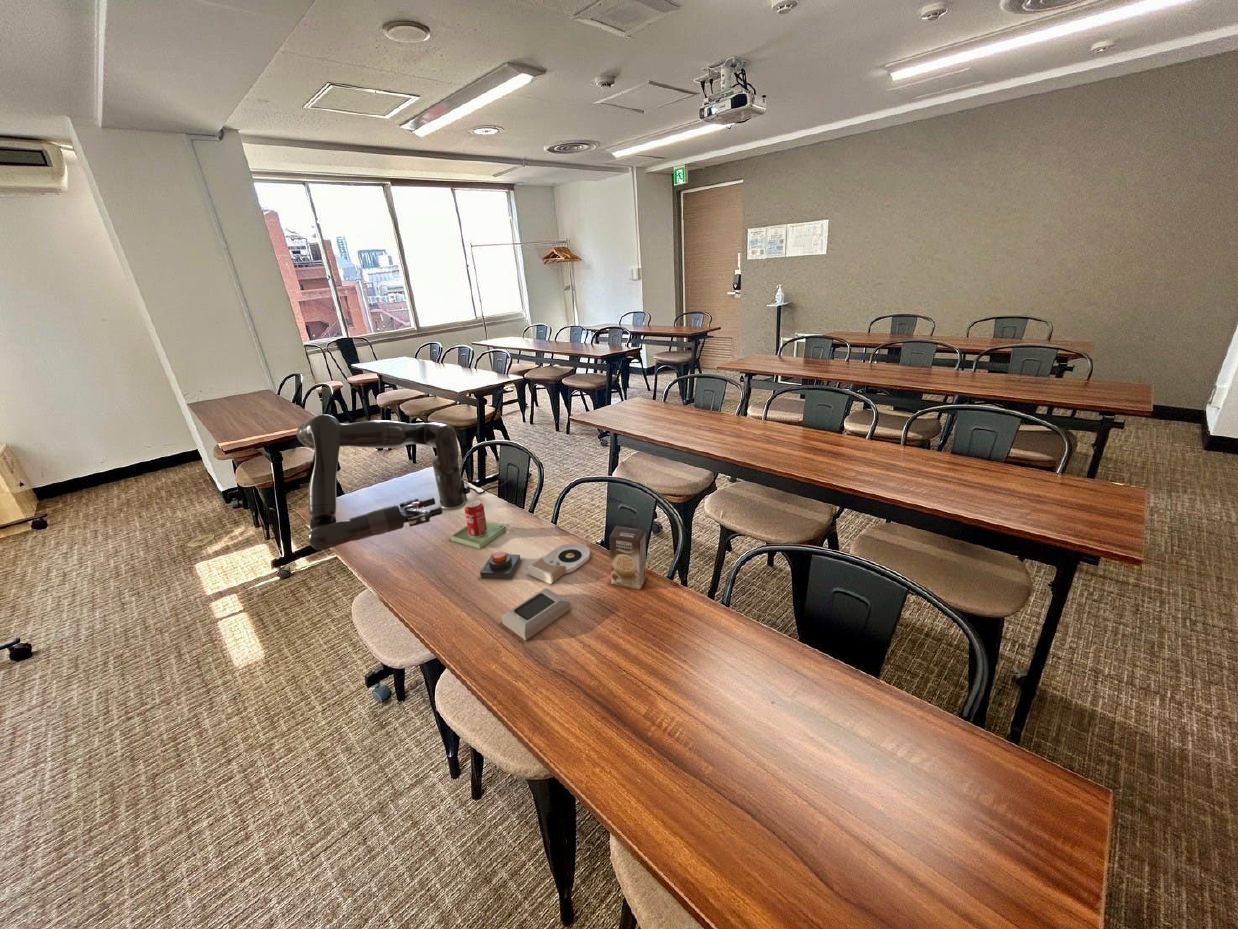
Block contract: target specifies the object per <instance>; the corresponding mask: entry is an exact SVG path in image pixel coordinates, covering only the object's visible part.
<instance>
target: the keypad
mask: <svg viewBox="0 0 1238 929" xmlns="http://www.w3.org/2000/svg"><path fill="white" fill-rule="evenodd" d="M569 611H571V602H570V601H569V600H567V599H566V598H564V597H563V596H560V595H559V594H558V593H556V592H554V591H552V590H551V589H549V588H547V587H545V588H543V589H542V590H540V591H538V592H537V593H535V594H534V595H532V596H530V597H529V598H527V599H526V600H524V601H523V602H521V603H519V604H518V605H516V606H515V607H513V608H512V609H510V610H509V611H507V612H505V613H504V614H503V615H502V616H501V622H502V625H503V626H505V627H506V628H508V629H509V630H510V631H512V632H513V633H515V634H516V635H517V636H518V637H520V638H521V639H522V640H524V641H527V640H530V639H531V638H532V637H533V636H535V635H536V634H538V633H539V632H540V631H542V630H543V629H545V628H547V627H548V626H549V625H551V624H552V623H553V622H554V621H556V620H558V619H559V618H561V616H562V617H563V615H565V614H566V613H567V612H569Z"/></svg>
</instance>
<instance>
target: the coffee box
mask: <svg viewBox="0 0 1238 929" xmlns="http://www.w3.org/2000/svg"><path fill="white" fill-rule="evenodd" d="M646 532H647V531H646V529H641V528H635V527H628V526H623V525H615V526H614V528H613V529H612V531H611V533H610V534H609V556H610V559H609V560H610V580H611V582H610V583H611V585H616V586H621V587H627V588H631V589H637V590H641V589H642V587H643V585H644V583H645V580H646V579H647V548H646V546H647V545H646V544H647V540H646V539H647V533H646Z"/></svg>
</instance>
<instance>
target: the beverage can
mask: <svg viewBox="0 0 1238 929" xmlns="http://www.w3.org/2000/svg"><path fill="white" fill-rule="evenodd" d="M464 516H465V521H466V526H468V531H469V535H471V536H472V537H476V538H477V537H482V536H484V535H485V534H486V532H487V530H488V529H487V523H486V521H487V519H486V518H487V517H486V512H485V506H484V504H483V503H482V501H481V500H479V499H472V500H469V501H466V503H465V505H464Z"/></svg>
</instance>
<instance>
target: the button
mask: <svg viewBox="0 0 1238 929" xmlns="http://www.w3.org/2000/svg"><path fill="white" fill-rule="evenodd" d="M505 553H506V552H504V551H496V552H494V553H493V554H494V555H493V559H494V562H503V561H504V560H506V556H505Z"/></svg>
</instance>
